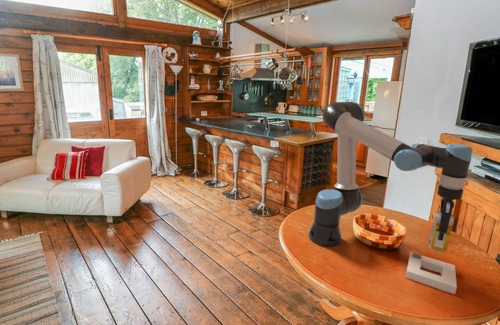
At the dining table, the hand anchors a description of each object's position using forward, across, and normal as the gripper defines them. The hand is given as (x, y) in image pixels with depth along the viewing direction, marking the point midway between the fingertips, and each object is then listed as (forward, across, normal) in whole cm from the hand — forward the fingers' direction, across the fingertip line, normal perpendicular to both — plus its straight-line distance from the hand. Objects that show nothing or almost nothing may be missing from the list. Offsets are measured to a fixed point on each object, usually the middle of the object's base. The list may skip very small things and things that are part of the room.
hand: (438, 242), depth 110 cm
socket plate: (+14, 0, 0) cm, 14 cm away
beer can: (+3, 0, 0) cm, 3 cm away
